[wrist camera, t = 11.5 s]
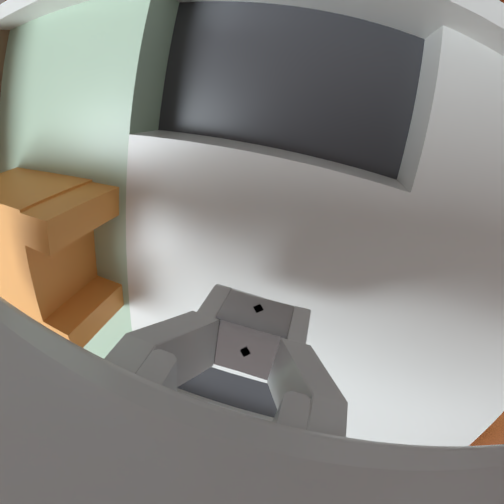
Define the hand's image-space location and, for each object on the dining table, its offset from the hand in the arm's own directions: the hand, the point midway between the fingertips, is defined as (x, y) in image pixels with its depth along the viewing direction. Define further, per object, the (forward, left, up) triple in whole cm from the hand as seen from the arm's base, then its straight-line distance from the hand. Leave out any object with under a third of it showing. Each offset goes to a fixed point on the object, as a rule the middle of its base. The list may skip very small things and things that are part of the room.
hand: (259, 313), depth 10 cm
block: (+1, -11, -2) cm, 11 cm away
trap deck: (+1, -1, -5) cm, 5 cm away
